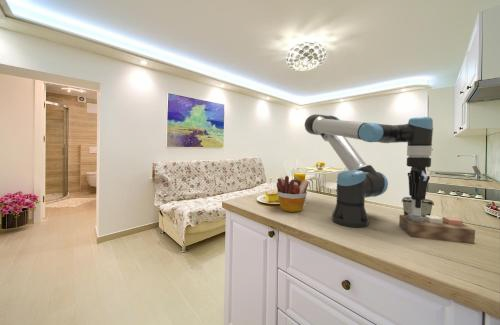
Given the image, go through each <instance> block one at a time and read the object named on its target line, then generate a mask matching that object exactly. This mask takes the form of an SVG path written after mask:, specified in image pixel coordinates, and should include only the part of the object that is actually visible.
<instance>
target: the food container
mask: <svg viewBox="0 0 500 325" xmlns="http://www.w3.org/2000/svg"><path fill="white" fill-rule="evenodd" d="M401 203H402V206H403V208H402V209H403V215H408V214H411V208H412V198H411V196H405V197H402V199H401ZM433 206H435V203H434V201H433V200H431V199H428V198H425V199H423V200H422V203H421V216H422V217H425V215H428V216H432V214H431V213H432V210H433Z"/></svg>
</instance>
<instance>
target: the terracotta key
mask: <svg viewBox="0 0 500 325" xmlns="http://www.w3.org/2000/svg"><path fill="white" fill-rule="evenodd" d="M442 218H443V222H444V223H446V224H448V225H458V226H462V224H464V223H463V222H464V221H463V220H462V219H459V218H457V217H450V216H442Z"/></svg>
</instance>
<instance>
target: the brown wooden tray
mask: <svg viewBox="0 0 500 325" xmlns="http://www.w3.org/2000/svg"><path fill="white" fill-rule="evenodd" d="M440 218H441V219H443V217H440ZM398 226H399V227H400V229H402V230H403V231H404V232H405V233H406V234H407V235H408V236H410V237H412V238H419V239H428V240H436V241H437V240H438V241H439V240H440V241H446V242H447V241H448V242H456V243H466V244H475V241H476V240H475V238H476V237H475V236H476V229H474V228H473V227H470V226H468V225H466V224H464V223H463V224H462V226H458V225H448V224H446V223H444V222H443V224H436V223H428V222H427V221H425V217H424V222H413V221H410V220H408V215H404V214H399V223H398Z"/></svg>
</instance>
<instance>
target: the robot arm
mask: <svg viewBox="0 0 500 325" xmlns="http://www.w3.org/2000/svg"><path fill="white" fill-rule="evenodd" d="M433 124H434V122H433V118H432V117H431V116H418V117H411V118H409V119H408V122H407V123H405V124H393V125H392V124H382V123H374V122H365V121H363V122H362V121H352V120H351V121H350V120H341V119H340V118H339V117H337V116H334V115H327V114H326V115H324V114H317V113H316V114H311V115H309V116H308V117H307V118H306V119H305V122H304V129H305V131H306V132H308V134H310V135H316V136H321V138H322V140H323V141H325V142H328V143H329V145H330V146H331V147H332V149H333V150H334V151H335V153H336V155H337V156H338V158H340V160H341V162H342V163H343V165H344V166H345V168H346V169H347V170H344V171H339V173H337V177H336V178H337V179H336V204H335V207H334V209H333V211H332V215H331V220H332V222H334V223H335V224H338V225H339V226H345V227H348V228H349V227H351V228H364V227H367V226H368V225H369V217H368V214H367V211H366V207H365V200H366V198H372V197H379V196H381V195H383V194H384V193H385V192H386V191H387V190H388V186H389V182H388V181H389V180H388V178H387V177H386V175H385V174H384V173H382V172H380V171H377V170H375V168H374V167H373V166H372V165H371V164H366V162H365V161H364V160H363V158H362V157H361V155H360V154H359V153H358V151H357V150H356V149H355V148H354V146H353V145H352V144H351V143H350V142H349V140H348V139H347V138H349V139H354V140H359V141H360V140H362V141H363V142H366V143H381V144H391V143H393V144H395V143H397V144H398V143H407V145H406V146H407V147H406V156H407V158H406V166H407V167H410V171H409V172H407V176H408V177H407V178H408V196H409V197H411V198H412V208H411V215H414V216H421V203H422V200H423V199H426V195H427V190H428V185H429V181H430V179H431V177H430V175H427V170H426V169H427V168H430V167H431V166H432V158H431V156H432V151H433V150H434V149H433V148H432V146H433V132H434V127H433V126H434V125H433Z"/></svg>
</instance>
